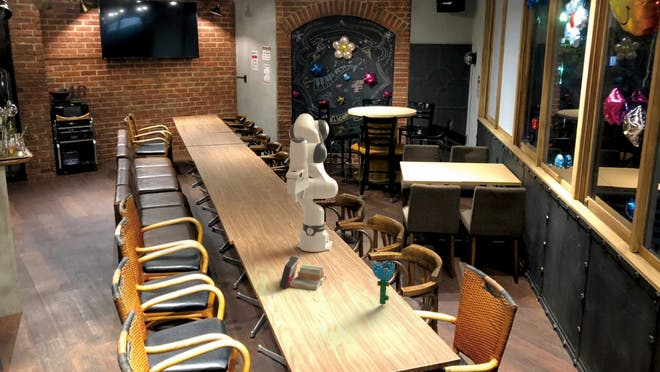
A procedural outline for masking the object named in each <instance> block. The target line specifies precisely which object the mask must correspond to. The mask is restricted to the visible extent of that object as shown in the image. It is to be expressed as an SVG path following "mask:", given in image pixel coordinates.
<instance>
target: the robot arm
mask: <svg viewBox="0 0 660 372" xmlns="http://www.w3.org/2000/svg"><path fill="white" fill-rule="evenodd" d="M329 132H330V128H329V125H328V123H327V121H326V120H324V119H318V120H315V119H314V117H313V116H312V115H311V114H309V113H302V114H299V116H298V117H297V118H296V120H295V122H294V123H293V124H292V125H290V126H289V130H288V134H289V135H288V136H289V138H290V144H289V147H288V148H287V159H288V160H289V161H290V162H289V166H288V167H289V168H288V171H287V172H286V174H285V178H286V191H287V194H288V195H291V198H292V203H298V202H299V203H300V205H301V208H302V212H303V213H302V215H303V223H302V231H301V232H300V234H299V235H300V236H299V244H297V245H296V246H297V248H300V250H302V251H305V252H310V253H313V252H314V253H315V252H316V253H318V252H324V251H330V250H331V248H332V246H333V241H332V240H330V239H329V238H330V236H329V235H330V233H328V231H327V230H326V224H327V222H326V221H325V210H324V208H323V207H322V206H321V205H319V204H317V203H315V202H314V201H313V200H314V199H315V200H317V199H321V200H322V199H330V198H335V197H336V195H337V194H338V191H339V186H338V183H337V181H336V180H335V179H334V178H332V177H330V176H329V175H328V173H327V172H326V170H325V166H324V162H325V161H326V159H327V154H328V153H327V148H326V145H325V140H326V139H327V138H328V136H329ZM310 177H311V178H310Z"/></svg>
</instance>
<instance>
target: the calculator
mask: <svg viewBox="0 0 660 372" xmlns="http://www.w3.org/2000/svg"><path fill="white" fill-rule="evenodd" d="M299 260H300V258H299V257H296V256H293V255H291V256H290V257H289V260H288V261H287V262H286V264H284V267H283V272H282V276H281V279H280V283H279V288H282V289H288V287H290V282H291V281H292V280H294V279H295V276H296V273H297V268H298V265H299Z"/></svg>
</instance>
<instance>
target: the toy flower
mask: <svg viewBox="0 0 660 372" xmlns="http://www.w3.org/2000/svg"><path fill="white" fill-rule="evenodd" d="M395 269H396V266H395V263H392V262H389V261H388V260H385V261H384V262H381V264H377V263H376V262H374V263H373V266H372V273H373V276H375V278H377V280H378V281H376V282H377V284H376V285H377V287H379V304H380V305H381V306H383V305H386V301H389V299H390V297H389V295H387V288H388V287H390V282H389V281H388V280H390V279H391V278H392V276H394V273H395V271H396V270H395Z"/></svg>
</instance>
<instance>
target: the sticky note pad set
mask: <svg viewBox="0 0 660 372" xmlns="http://www.w3.org/2000/svg"><path fill="white" fill-rule="evenodd" d="M324 269H325V268H324V266H323V265H316V264H315V265H314V264H308V263H303V264H302V265H301V266H299V271H298V272H297V276H296V277H294V279H293V280H292V281H291V282H290V285H289V287H290V288H296V289H303V290H310V291H311V290H312V291H317V290H318V289H319V288H320V287H321V286H322V285H323V284H324V283H325V282H326V280H327V279H328V277H327V275H325V271H324Z"/></svg>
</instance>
